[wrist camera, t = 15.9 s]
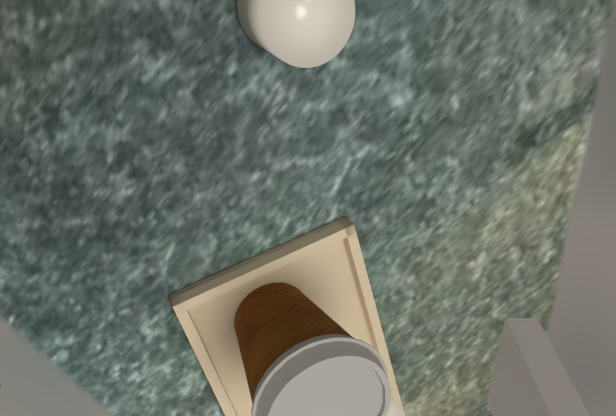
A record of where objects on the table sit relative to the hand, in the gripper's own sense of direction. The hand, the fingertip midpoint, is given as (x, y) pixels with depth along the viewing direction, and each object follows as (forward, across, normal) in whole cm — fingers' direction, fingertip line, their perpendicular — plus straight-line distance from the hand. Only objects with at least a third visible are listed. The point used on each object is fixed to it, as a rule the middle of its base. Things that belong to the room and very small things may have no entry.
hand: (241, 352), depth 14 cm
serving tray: (+26, +1, -24) cm, 35 cm away
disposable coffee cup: (+25, -1, -19) cm, 31 cm away
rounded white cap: (+28, -1, +4) cm, 28 cm away
